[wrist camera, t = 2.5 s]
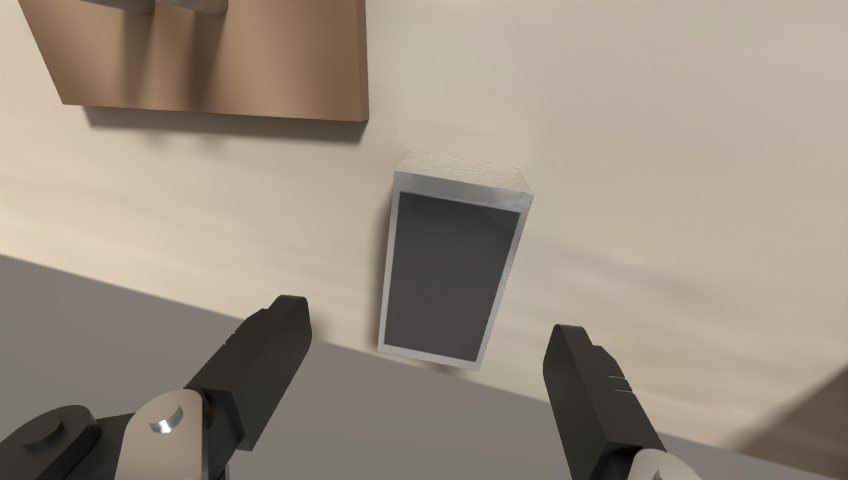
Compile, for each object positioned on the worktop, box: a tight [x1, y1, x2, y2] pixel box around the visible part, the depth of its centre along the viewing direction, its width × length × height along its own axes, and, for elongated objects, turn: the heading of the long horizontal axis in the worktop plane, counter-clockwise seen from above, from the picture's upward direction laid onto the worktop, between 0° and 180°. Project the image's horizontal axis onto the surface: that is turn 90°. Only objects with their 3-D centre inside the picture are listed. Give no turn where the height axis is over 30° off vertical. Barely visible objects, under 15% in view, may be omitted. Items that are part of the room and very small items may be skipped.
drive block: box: [377, 151, 534, 371], centre depth 15 cm, size 5×9×4 cm, turn 172°
